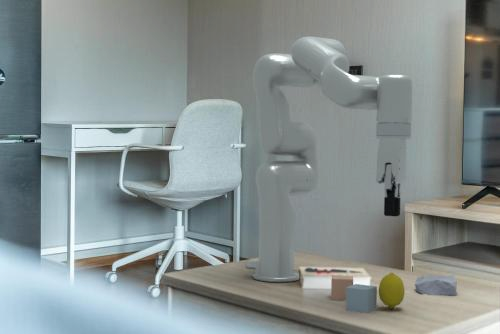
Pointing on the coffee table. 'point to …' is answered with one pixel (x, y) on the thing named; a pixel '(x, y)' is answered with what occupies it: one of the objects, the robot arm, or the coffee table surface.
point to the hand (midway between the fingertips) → (392, 215)
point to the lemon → (391, 290)
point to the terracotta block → (340, 286)
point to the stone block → (436, 285)
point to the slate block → (361, 298)
